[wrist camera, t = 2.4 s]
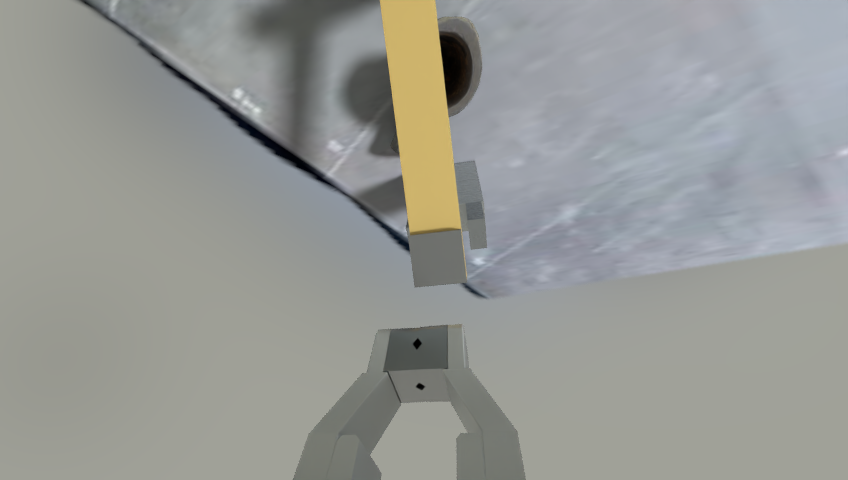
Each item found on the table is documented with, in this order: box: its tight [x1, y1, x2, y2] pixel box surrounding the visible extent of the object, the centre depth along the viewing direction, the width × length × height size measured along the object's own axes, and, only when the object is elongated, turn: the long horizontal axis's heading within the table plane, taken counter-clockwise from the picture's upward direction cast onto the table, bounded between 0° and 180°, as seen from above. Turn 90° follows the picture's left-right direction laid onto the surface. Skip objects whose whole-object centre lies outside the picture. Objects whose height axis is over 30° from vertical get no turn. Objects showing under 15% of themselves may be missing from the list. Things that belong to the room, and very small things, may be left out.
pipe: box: [391, 17, 482, 154], centre depth 28 cm, size 6×13×8 cm, turn 156°
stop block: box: [406, 161, 487, 249], centre depth 31 cm, size 3×7×13 cm, turn 100°
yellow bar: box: [380, 0, 467, 287], centre depth 17 cm, size 21×3×2 cm
